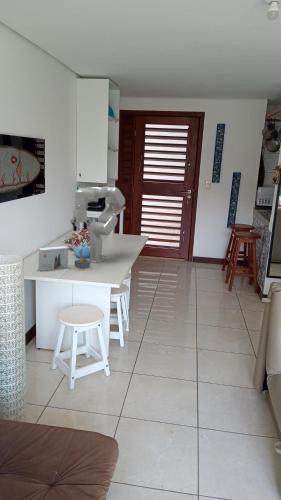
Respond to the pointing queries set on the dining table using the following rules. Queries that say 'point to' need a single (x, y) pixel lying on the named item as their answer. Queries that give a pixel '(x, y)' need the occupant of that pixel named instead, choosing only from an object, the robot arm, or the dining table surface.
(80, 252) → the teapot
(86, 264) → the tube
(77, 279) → the dining table surface
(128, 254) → the dining table surface
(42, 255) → the skincare box
